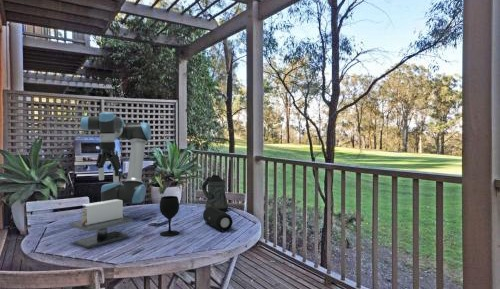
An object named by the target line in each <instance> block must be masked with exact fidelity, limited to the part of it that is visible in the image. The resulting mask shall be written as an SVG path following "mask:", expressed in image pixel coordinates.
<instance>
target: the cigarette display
mask: <svg viewBox="0 0 500 289" xmlns="http://www.w3.org/2000/svg"><path fill="white" fill-rule="evenodd" d="M123 204H124V203H123V200H118V199H115V200H108V201H102V202H101V201H97V202H90V203H85V204H82V205H81V206H83V207H86V208H85V209H81V221H82V224H86V225H90V224H95V223H100V222H105V221H109V220H114V219H119V218H123V214H124V207H123V206H124V205H123Z"/></svg>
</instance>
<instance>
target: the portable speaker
mask: <svg viewBox="0 0 500 289" xmlns="http://www.w3.org/2000/svg"><path fill="white" fill-rule="evenodd" d="M202 218H203V220H204V222H206V223H208V224H209V225H211V226H212V227H214V228H216V229H218V230H219V231H220V232H225V231H228V230H230V229H231V228H232V227H233V224H234V223H233V222H234V221H233V218H232V216H231V214H229V213H227V212H223V211H221V210H219V209H217V208H214V207H208V208H207V209H205V208H204V210H203V212H202Z"/></svg>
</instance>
